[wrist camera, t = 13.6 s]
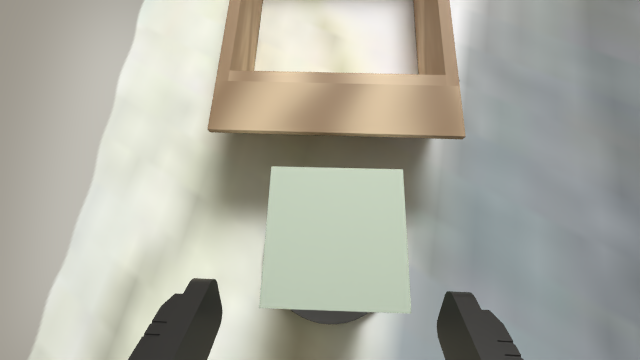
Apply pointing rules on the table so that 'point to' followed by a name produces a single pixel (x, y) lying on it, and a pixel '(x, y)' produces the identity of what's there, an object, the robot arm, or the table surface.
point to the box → (336, 241)
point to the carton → (339, 87)
